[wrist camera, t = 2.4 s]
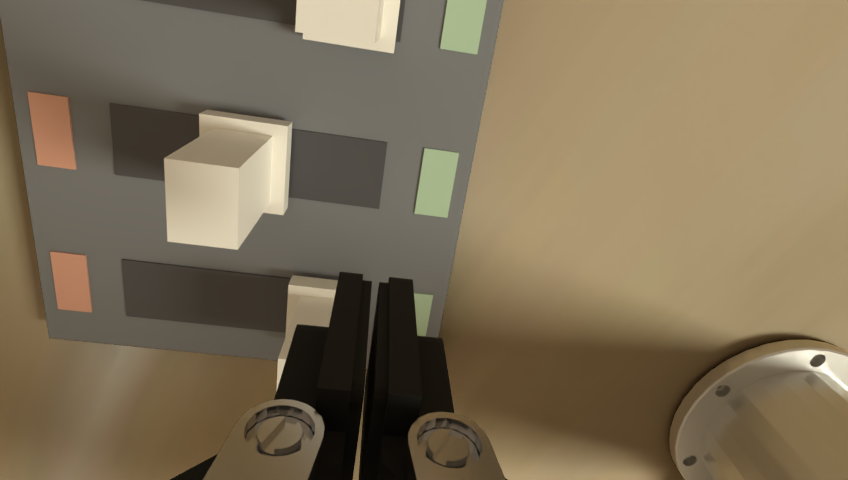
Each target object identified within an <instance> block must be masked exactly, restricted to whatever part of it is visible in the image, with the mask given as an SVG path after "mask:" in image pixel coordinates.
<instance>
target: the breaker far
mask: <svg viewBox="0 0 848 480" xmlns="http://www.w3.org/2000/svg"><path fill="white" fill-rule="evenodd" d="M337 282H338V280H331V279H322V278H313V277H304V276H296V275H292V277H291V280H290V282H289V285H288V301H287V318H286V336H285V341H284V343H283V346H282V349H281V352H280V355H279V357H278V369H277V388H276V392H277V389H278V385H279V382H280V379H281V375H282V372H283V368H284V365H285V362H286V358H287V355H288V352H289V348H290V345H291V342H292V338H293V335H294V332H295V328H296V326H297V324H302V325H312V326H323V327H329V323H330V318H331V313H332V308H333V303H334V298H335V293H336V287H337Z"/></svg>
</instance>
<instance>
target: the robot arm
mask: <svg viewBox="0 0 848 480" xmlns="http://www.w3.org/2000/svg"><path fill="white" fill-rule="evenodd" d="M371 288H372V281H365V280H363V274H358V273H349V272H339V277H338V282H337V287H336V293H335V298H334V303H333V308H332V313H331V318H330V323H329V327H323V326H312V325H302V324H297V326H296V328H295V332H294V335H293V338H292V342H291V345H290V348H289V352H288V355H287V358H286V362H285V365H284V368H283V372H282V375H281V379H280V382H279V385H278V389H277V392H276V395H275V399H274V400H271V401H266V402H263V403H261V404H258V405H255V406H254V407H252V408H251V409H249V410H248V411H246V412H245V413H244V414H243V415H242V417H241V418H240V419H239V420H238V421H237V423H236V425H235V426H234V428H233V430H232V431H231V433H230V435H229V436H228V438H227V440H226V442H225V443H224V445H223V447H222V448H221V450H220V452H219V453H218V454H217V455H215V456H213V457H211V458H210V459H208V460H206V461H204V462H202V463H200V464H198V465H197V466H195V467H193V468H191V469H189V470H187V471H185V472H183V473H182V474H180V475H178V476H176V477H174V478H172V479H170V480H352V479H353V471H354V464H355V456H356V449H357V442H358V434H359V427H360V419H361V412H362V404H363V396H364V386H365V396H364V411H363V425H362V440H361V454H360V469H359V480H507V479H506V478H505V477H504V475H503V472H502V470H501V468H500V465H499V463H498V460H497V458H496V455H495V453H494V451H493V448H492V446H491V443H490V441H489V439H488V437H487V436H486V434H485V432H484V431H483V430H482V429H481V428H480V427H479V426H478V425H477V424H476V423H475V422H473V421H471V420H469V419H468V418H466V417H464V416H461V415H458V414H455V413H454V409H453V402H452V396H451V390H450V383H449V377H448V370H447V364H446V357H445V351H444V344H443V340H442V338H437V337H427V336H417V325H416V313H415V300H414V287H413V279H404V278H395V277H389V280H388V283H384V282H379V287H378V294H377V302H376V309H375V317H374V324H373V332H372V339H371V346H370V354H369V361H368V369H367V376H366V385H365V373H366V358H367V344H368V330H369V316H370V302H371ZM669 446H670V451H671V456H672V459H673V461H674V463H675V465H676V467H677V469H678V470H679V472H680V473H681V475H682V476H683V478H684V479H685V480H848V352H846V351H845V350H843V349H842V348H839V347H836V346H834V345H831V344H829V343H826V342H819V341H813V340H785V341H779V342H773V343H768V344H764V345H761V346H758V347H755V348H752V349H749V350H746V351H744V352H742V353H740V354H738V355H736V356H734V357H732V358H730V359H728V360H726V361H724V362H723V363H721V364H720V365H718V366H717V367H715V368H714V369H712V370H711V371H710V372H709V373H707V374H706V375H705V376H704V377H703V378H702V379H701V380H700V381H699V382H697V383H696V384H695V385H694V387H693V388H692V389H691V390H690V392H689V393H688V394H687V395H686V396H685V398H684V399H683V401H682V402H681V404H680V406H679V408H678V410H677V411H676V413H675V415H674V419H673V422H672V425H671V428H670V438H669Z"/></svg>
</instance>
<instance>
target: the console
mask: <svg viewBox="0 0 848 480" xmlns="http://www.w3.org/2000/svg"><path fill="white" fill-rule="evenodd" d="M503 2H504V0H400V8H399V16H398V24H397V32H396V41H395V49H394V53H387V52H381V51H375V50H368V49H362V48H356V47H349V46H343V45H337V44H331V43H324V42H318V41H312V40H305V39H303V33H299V32H295V24H296V5H297V0H0V18H1V24H2V31H3V37H4V44H5V51H6V57H7V64H8V70H9V77H10V83H11V90H12V97H13V103H14V110H15V116H16V123H17V129H18V136H19V143H20V149H21V156H22V162H23V169H24V175H25V182H26V189H27V195H28V202H29V208H30V215H31V222H32V228H33V235H34V241H35V248H36V254H37V261H38V268H39V274H40V281H41V287H42V294H43V300H44V307H45V314H46V320H47V327H48V333H49V338H53V339H63V340H74V341H84V342H94V343H104V344H114V345H124V346H134V347H144V348H154V349H164V350H175V351H185V352H195V353H205V354H215V355H225V356H235V357H245V358H255V359H266V360H276V361H278V357H279V355H280V352H281V349H282V346H283V343H284V341H285V336H286V318H287V301H288V285H289V282H290V280H291V277H292V275H296V276H304V277H313V278H322V279H331V280H338V277H339V272H349V273H358V274H363V280H365V281H372V288H371V302H370V316H369V330H368V344H367V358H366V369H368V361H369V354H370V346H371V339H372V332H373V324H374V317H375V309H376V302H377V294H378V287H379V282H384V283H388V280H389V277H395V278H404V279H413V287H414V300H415V313H416V325H417V336H427V337H437V338H438V337H439V332H440V327H441V322H442V316H443V311H444V306H445V301H446V296H447V291H448V285H449V280H450V275H451V270H452V265H453V260H454V255H455V249H456V244H457V239H458V234H459V229H460V224H461V218H462V213H463V208H464V203H465V198H466V193H467V187H468V182H469V177H470V172H471V167H472V162H473V156H474V151H475V146H476V141H477V136H478V131H479V126H480V120H481V115H482V110H483V105H484V100H485V95H486V89H487V84H488V79H489V74H490V69H491V64H492V58H493V53H494V48H495V43H496V38H497V33H498V27H499V22H500V17H501V12H502V7H503ZM205 110H214V111H221V112H228V113H235V114H242V115H249V116H256V117H263V118H270V119H277V120H284V121H291V122H292V138H291V157H290V176H289V194H288V208H287V210H286V212H285V213H284V215H278V214H270V213H263V214H262V215H261V217H260V218H259V220H258V221H257V223H256V224H255V226H254V227H253V228H252V230H251V231H250V233H249V234H248V236H247V237H246V238H245V240H244V241H243V243H242V244H241V246H240V247H239V249H238V250H235V249H226V248H218V247H210V246H201V245H193V244H184V243H176V242H167V219H166V196H165V172H164V158H165V157H167V156H169V155H170V154H172V153H173V152H175V151H177V150H178V149H180V148H182V147H183V146H185V145H187V144H188V143H190V142H192V141H193V140H195V139H197V138H198V137H199V113H201V112H203V111H205Z"/></svg>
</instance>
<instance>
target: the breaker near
mask: <svg viewBox="0 0 848 480" xmlns="http://www.w3.org/2000/svg"><path fill="white" fill-rule="evenodd" d="M399 8H400V0H297V5H296V24H295V32H299V33H303V39H305V40H312V41H318V42H324V43H331V44H337V45H343V46H349V47H356V48H362V49H368V50H375V51H381V52H387V53H394V49H395V41H396V32H397V24H398V16H399Z"/></svg>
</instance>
